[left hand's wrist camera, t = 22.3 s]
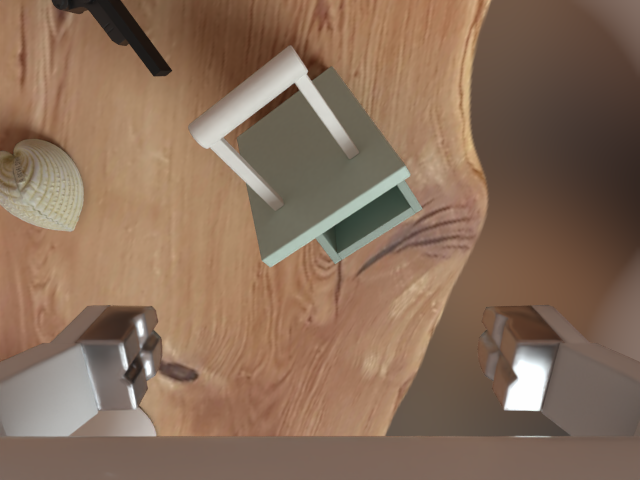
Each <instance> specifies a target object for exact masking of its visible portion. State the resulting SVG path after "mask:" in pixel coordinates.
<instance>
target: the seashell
mask: <svg viewBox="0 0 640 480" xmlns="http://www.w3.org/2000/svg"><path fill="white" fill-rule="evenodd" d="M83 195H84V189H83V183H82V179H81V176H80V173H79V171H78V169H77V167H76V165H75V164H74V162H73V160H72V159H71V158H70V157H69V156H68V155H67V154H66V153H65V152H64V151H63V150H62V149H60V148H59V147H57V146H56V145H54V144H52V143H50V142H47V141H44V140H39V139H26V140H23V141H20V142H19V143H17V144H16V146H15V147H14V150H13V154H11V153H9V152H7V151H0V205H1V206H2V207H4V208H5V209H6V210H7V211H8V212H10V213H11V214H13V215H14V216H16V217H18V218H20V219H21V220H23V221H26V222H28V223H30V224H33V225H36V226H39V227H43V228H47V229H52V230H62V231H73V230H74V229H75V226H76V224H77V221H78V220H79V215H80V212H81V210H82V206H83Z"/></svg>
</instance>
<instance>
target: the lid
mask: <svg viewBox="0 0 640 480" xmlns="http://www.w3.org/2000/svg"><path fill="white" fill-rule="evenodd" d="M307 73H308V70H307V68H306V66H305V65H304V63H303V62H302V60H301V59H300V57H299V56H298V54H297V53H296V51H295V50H294V48H293V47H292V46H291V45H289V46H288V47H287V48H285V49H284V50H283V51H281V52H280V53H279V54H278V55H276V56H275V57H274V58H273V59H271V60H270V61H269V62H268V63H266V64H265V65H264V66H262V67H261V68H260V69H259V70H257V71H256V72H255V73H254V74H252V75H251V76H250V77H249V78H247V79H246V80H245V81H243V82H242V83H241V84H240V85H238V86H237V87H236V88H235V89H233V90H232V91H231V92H230V93H228V94H227V95H226V96H224V97H223V98H222V99H221V100H219V101H218V102H217V103H216V104H214V105H213V106H212V107H211V108H209V109H208V110H207V111H206V112H204V113H203V114H202V115H200V116H199V117H198V118H197V119H195V120H194V121H193V122H192V123H190V124H189V126H188V128H189V131H190V133H191V135H192V136H193V138H194V139H195V140H196V141H197V142H198V143H199V144H200V145H201V146H202V147H204V148H206V149H207V148H211V149H212V150H213V151H214V152H215V153H216V154H217V155H218V156H219V157H220V158H221V159H222V160H223V161H224V162H225V163H226V164H227V165H228V166H229V167H230V168H231V169H232V170H233V171H234V172H235V173H237V174H238V175H239V176H240V177H241V178H242V179H243V180H244V181H245V182H246V185H247V190H248V195H249V200H250V205H251V210H252V215H253V220H254V224H255V229H256V234H257V239H258V244H259V249H260V254H261V259H262V261H263V262H264V263H266V264H267V265H268V266H269V267H272V266H273V265H275V264H277V263H278V262H280V261H281V260H283V259H284V258H286V257H287V256H289V255H290V254H292V253H293V252H295V251H296V250H298V249H299V248H301V247H302V246H304V245H306V244H307V243H309V242H310V241H312V240H313V239H315V238H316V237H318V236H319V235H321V234H322V233H324V232H325V231H327V230H328V229H330V228H332V227H333V226H335V225H336V224H338V223H339V222H341V221H342V220H344V219H345V218H347V217H348V216H350V215H351V214H353V213H354V212H356V211H358V210H359V209H361V208H362V207H364V206H365V205H367V204H368V203H370V202H371V201H373V200H374V199H376V198H377V197H379V196H380V195H382V194H383V193H385V192H387V191H388V190H390V189H391V188H393V187H394V186H396V185H397V184H399V183H400V182H402V181H403V180H405V179H406V178H408V177H409V176H410V172H409V171H408V169H407V167H406V166H405V164H404V163H403V161H402V160H401V159H400V157H399V156H398V155H397V153H396V152H395V151H394V149H393V148H392V147H391V145H390V144H389V142H388V141H387V140H386V138H385V137H384V136H383V134H382V133H381V132H380V130H379V129H378V128H377V126H376V125H375V123H374V122H373V121H372V119H371V118H370V117H369V115H368V114H367V113H366V111H365V110H364V109H363V107H362V106H361V104H360V103H359V102H358V100H357V99H356V98H355V96H354V95H353V94H352V92H351V91H350V90H349V88H348V87H347V85H346V84H345V83H344V81H343V80H342V79H341V77H340V76H339V75H338V73H337V72H336V71H335V69H334V68H333V67H332V66H331V67H330V68H328V69H327V70H326V71H324V72H323V73H322V74H320V75H319V76H318V77H316V78H315V79H314V80H312V81H311V79H310V78H309V77H308V75H307ZM294 83H295V84H296V86H297V87H298V89H299V91H298V92H297V93H295V94H294V95H293V96H291V97H290V98H289V99H287V100H286V101H285V102H283V103H282V104H281V105H279V106H278V107H277V108H275V109H274V110H273V111H271V112H270V113H269V114H267V115H266V116H265V117H263V118H262V119H261V120H260V121H258V122H257V123H256V124H254V125H253V126H252V127H250V128H249V129H248V130H246V131H245V132H244V133H242V134H241V135H240V136H238V137H237V141H238V146H239V151H240V154H239V153H238V152H237V151H236V150H235V149H234V148H233V147H232V146H231V145H230V144H229V143H228V142H227V141H226V140H225V139H224V138H223V137H224V136H225V135H227V134H228V133H229V132H231V131H232V130H233V129H235V128H236V127H237V126H239V125H240V124H241V123H242V122H244V121H245V120H246V119H248V118H249V117H250V116H252V115H253V114H254V113H256V112H257V111H258V110H259V109H261V108H262V107H263V106H265V105H266V104H267V103H269V102H270V101H271V100H273V99H274V98H275V97H277V96H278V95H279V94H280V93H282V92H283V91H284V90H286V89H287V88H288V87H290V86H291V85H292V84H294Z"/></svg>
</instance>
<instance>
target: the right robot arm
mask: <svg viewBox="0 0 640 480" xmlns="http://www.w3.org/2000/svg"><path fill="white" fill-rule="evenodd" d="M52 3H53V5H54V6H55V7H56V8H58V9H60V10H64V11H68V12H72V13H76V14H81V13H83V12H84V11H86V10H89V11H90V12H91V14H92V15H93V16H94V17H95V19H96V20H97V21H98V23H99V24H100V25H101V27H102V28H103V29H104V31H105V32H106V33H107V34H108V36H109V37H110V38H111V40H112V41H114V42H115V43H117V44H118V45H123V46H127V45H128V44H130V45H131V47H132V48H133V49H134V51H135V52H136V53H137V55H138V56H139V57H140V59H141V60H142V61H143V63H144V64H145V65H146V67H147V68H148V69H149V71H150V72H151V73H152V75H153V76H166V75H168V74H169V73H170V72H171V71H172V70H171V68H170V67H169V66H168V64H167V63H166V62H165V60H164V59H163V58H162V56H161V55H160V53H159V52H158V51H157V49H156V48H155V47H154V45H153V44H152V43H151V41H150V40H149V38H148V37H147V36H146V34H145V33H144V32H143V30H142V29H141V28H140V26H139V25H138V23H137V22H136V21H135V19H134V18H133V17H132V15H131V14H130V13H129V11H128V10H127V8H126V7H125V6H124V4H123V3H122V2H121V0H52Z"/></svg>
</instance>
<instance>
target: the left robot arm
mask: <svg viewBox="0 0 640 480" xmlns="http://www.w3.org/2000/svg"><path fill="white" fill-rule="evenodd" d="M157 323H158V319H157V314H156V310H155V309H154V308H153V307H152V306H114V305H113V306H111V305H93V306H87V307H86V308H85V309H84V310H83V311H82V312H81V313H80V314H79V315H78V316H77V317H76V318H75V319H74V320H73V321H72V322H71V323H70V324H69V325H68V326H67V327H66V328H65V329H64V330H63V331H62V332H61V333H60V334H59V335H58V336H57V337H56V338H55V339H54V340H53V341H52V342H51V343H42V344H40V345H38V346H35V347H33V348H31V349H29V350H26V351H24V352H22V353H19V354H17V355H15V356H13V357H10V358H8V359H6V360H3V361H1V362H0V480H640V362H639V361H636V360H634V359H632V358H630V357H627V356H625V355H623V354H620V353H618V352H616V351H614V350H611V349H609V348H607V347H604V346H602V345H600V344H598V343H589V342H588V341H587V340H586V339H585V338H584V337H583V336H582V335H581V334H580V333H579V332H578V331H577V330H576V329H575V328H574V327H573V326H572V325H571V324H570V323H569V322H568V321H567V320H566V319H565V318H564V317H563V316H562V315H561V314H560V313H559V312H558V311H557V310H556V309H555V308H554V307H552V306H549V305H535V306H497V307H486V309H485V311H484V313H483V318H482V323H483V324H484V326H485V328H486V329H487V330H486V331H485V332H484V333H483V334H482V335H481V336H480V337H479V342H478V359H479V363H480V366H481V369H482V371H483V373H484V375H485V376H486V377H488V378H489V379H491V380H492V381H493V387H492V389H493V391H494V393H495V395H496V397H497V398H498V400H499V402H500V404H501V406H502V407H503V409H504V410H524V411H542V413H543V414H544V415H545V416H547V417H548V418H549V419H551V420H552V421H553V422H554V423H556V424H557V425H558V426H559V427H561V428H562V429H563V430H565V431H566V432H567V433H569V434H570V435H571V436H156V431H155V428H154V426H153V424H152V422H151V420H150V419H149V417H148V416H147V415H146V414H145V413H144V412H143V411H142V410H141V409H140V408H139V407H138V406H139V404H140V402H141V400H142V399H143V397H144V395H145V393H146V391H147V389H148V387H147V381H148V380H149V379H151V378H152V377H154V376H155V375H156V373H157V371H158V369H159V367H160V363H161V358H162V341H161V337H160V336H159V335H158V334H157V333H156V332H155V331H154V330H153V329H154V328H155V326H156V325H157Z"/></svg>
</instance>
